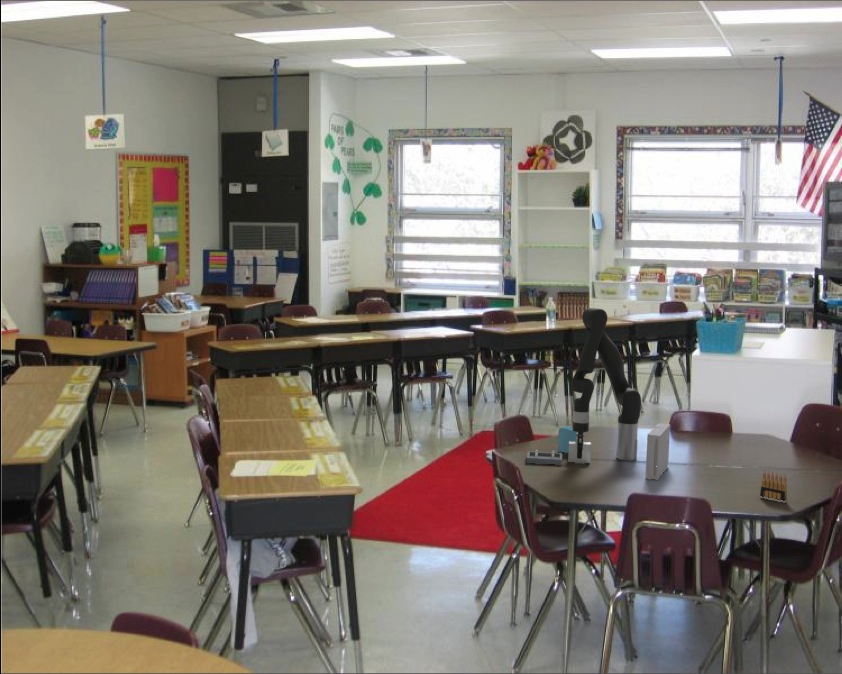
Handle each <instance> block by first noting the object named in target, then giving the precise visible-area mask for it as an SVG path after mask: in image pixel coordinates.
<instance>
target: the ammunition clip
mask: <svg viewBox="0 0 842 674" xmlns="http://www.w3.org/2000/svg"><path fill="white" fill-rule="evenodd" d="M778 475H779V476H778ZM761 478H762V479H761V486H760V493H759V497H760V496H762V497H764V496H765V497H768V498H774V499H777V500H783V501H785V500H786V501H787V494H788V493H787V475H786V473H785V474H784V476H783V475H782V473H780V474H778V472H775V474H774V471H772V472H771V473H770V471H769V470H768V471H767V473H766V470H765V469H764V471H762V477H761Z"/></svg>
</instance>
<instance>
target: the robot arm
mask: <svg viewBox="0 0 842 674" xmlns="http://www.w3.org/2000/svg"><path fill="white" fill-rule="evenodd" d="M581 315H582V316H581V317H582V318H581V319H582V323H583V325H584V327H585V329H586V331H587V332H588V337H587V340H586V342H585V344H584V346H583V348H582V350H581V351H580V355H579V360H578V366H577V369H576V371H575V373H574V375H573V377H572V380H571V383H570V386H571V389H572V391H573V392H575V393H579V394H581V396H580V397H576V398H575V399H574V401H573V413H572V427H571V428H572V430H573V431H575V432H578V433H577V434H576V445H577V458H578V459H581V458H582V450H583V445H584V442H585V438H586V437H585V434H584V435H583V432H584V433H588V432H589V431H590V404H591V403H590V402H591V400H592V397H593V393H594V389H595V384H594V382H593V380H591V379H590V378H585V377H586V375H587V374H592V373H593V372H594V368H595V363H596V358H597V354H598V356H599V359H600V361H601V364H602V365H603V368H604V370H605V372H606V374H607V376H608V379H609V380H610V382H611V386H612V388H613V392H614V395H615V398H616V402H617V403H618V404H619V406H622V407H621V414H620V415H618V416H617V433H616V437H617V438H616V456H615V457H616V459H617V458H618V460H622V461H637V459H638V458H637V456H638V430H639V429H638V428H639V419H640V416H641V409H642V408H641V405H642V398H641V397H642V396H641V394H640V393H639V391H637V390H636V389H633V388H632V387H631V386H630V384H629V381H628V380H627V378H626V375H625V364H624V360H623V357H622V355H621V353H620V350H619V348H618V347H617V345H616V344H615V343H614V342H613V341H612V339H611V338H610V337H609V335H608V334H607V333H606V331H605V329H606V326H607V322H608V314H607V312H606V310H604V309H603V308H596V307H589V308H586V309H585V310H583V313H582V314H581ZM577 442H578V443H577ZM578 446H582V448H581V447H578Z"/></svg>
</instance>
